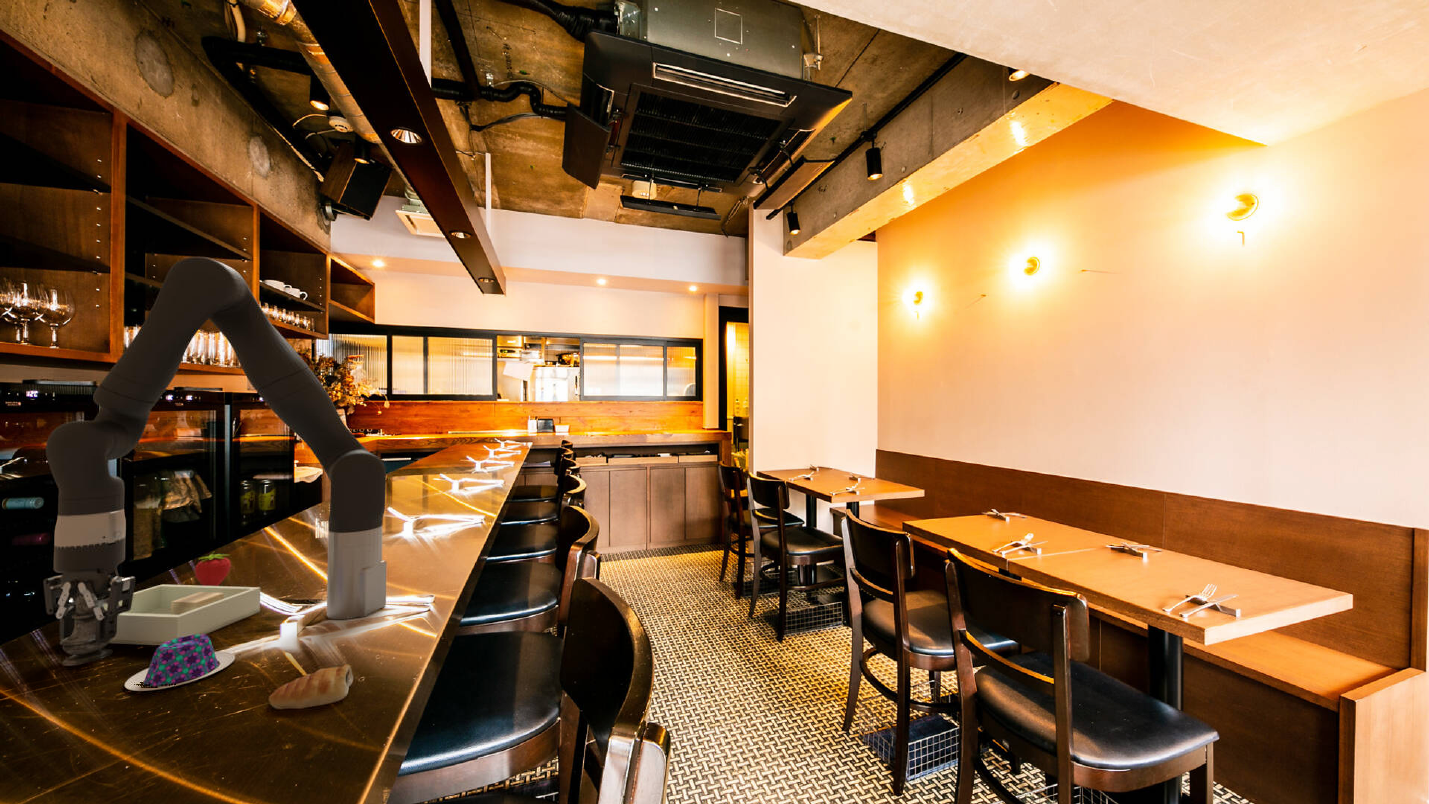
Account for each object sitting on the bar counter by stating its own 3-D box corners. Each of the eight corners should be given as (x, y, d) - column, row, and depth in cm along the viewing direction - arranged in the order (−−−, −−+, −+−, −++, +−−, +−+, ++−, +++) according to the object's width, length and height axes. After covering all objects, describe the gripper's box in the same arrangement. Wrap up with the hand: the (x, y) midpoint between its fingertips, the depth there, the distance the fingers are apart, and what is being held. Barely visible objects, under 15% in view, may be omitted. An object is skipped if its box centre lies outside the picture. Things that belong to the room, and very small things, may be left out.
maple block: (223, 618, 99) (223, 592, 99) (195, 629, 94) (195, 602, 94) (199, 617, 99) (200, 592, 99) (170, 628, 94) (171, 601, 94)
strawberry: (229, 584, 119) (230, 542, 120) (231, 592, 114) (232, 548, 114) (194, 590, 115) (195, 546, 115) (193, 599, 110) (194, 553, 110)
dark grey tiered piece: (74, 668, 80) (77, 593, 81) (48, 664, 82) (51, 590, 82) (124, 651, 86) (126, 581, 86) (99, 647, 87) (101, 578, 88)
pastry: (261, 720, 68) (262, 692, 68) (277, 695, 74) (277, 669, 74) (346, 702, 72) (347, 675, 72) (354, 680, 78) (355, 655, 78)
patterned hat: (171, 659, 84) (172, 627, 84) (253, 653, 86) (254, 622, 87) (98, 699, 72) (99, 663, 73) (195, 691, 75) (196, 656, 75)
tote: (259, 611, 103) (260, 587, 103) (177, 645, 88) (177, 617, 88) (161, 608, 105) (162, 584, 105) (63, 641, 90) (64, 613, 90)
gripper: (20, 543, 81) (16, 648, 81) (101, 545, 80) (98, 651, 80) (81, 532, 89) (78, 628, 88) (156, 534, 88) (154, 631, 87)
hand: (88, 639), depth 84 cm, fingers closed on dark grey tiered piece, 6 cm apart
